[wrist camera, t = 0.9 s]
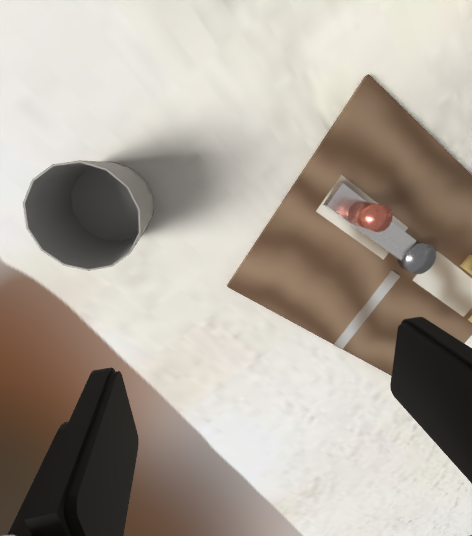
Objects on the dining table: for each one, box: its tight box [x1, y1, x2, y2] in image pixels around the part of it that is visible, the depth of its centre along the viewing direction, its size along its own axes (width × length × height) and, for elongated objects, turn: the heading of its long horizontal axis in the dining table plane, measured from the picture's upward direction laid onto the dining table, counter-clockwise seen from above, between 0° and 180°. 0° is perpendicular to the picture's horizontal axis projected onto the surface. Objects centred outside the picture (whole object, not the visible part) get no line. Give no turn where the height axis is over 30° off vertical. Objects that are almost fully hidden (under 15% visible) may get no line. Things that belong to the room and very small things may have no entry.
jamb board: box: [227, 74, 472, 376], centre depth 39 cm, size 28×38×3 cm
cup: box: [23, 161, 153, 271], centre depth 27 cm, size 8×8×10 cm
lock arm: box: [323, 182, 436, 274], centre depth 35 cm, size 17×4×5 cm, turn 57°
